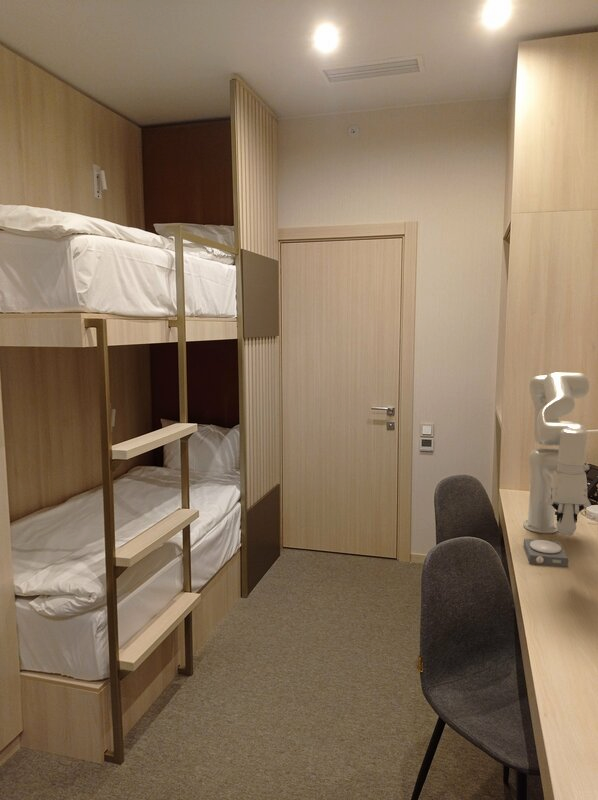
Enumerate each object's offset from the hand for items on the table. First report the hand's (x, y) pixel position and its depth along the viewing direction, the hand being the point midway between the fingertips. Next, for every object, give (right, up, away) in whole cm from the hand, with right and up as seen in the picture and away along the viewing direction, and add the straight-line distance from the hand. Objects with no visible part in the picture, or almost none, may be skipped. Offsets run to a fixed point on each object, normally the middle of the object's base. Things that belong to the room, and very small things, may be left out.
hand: (566, 523), depth 184 cm
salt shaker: (0, -3, +1) cm, 3 cm away
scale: (+1, -15, +18) cm, 23 cm away
